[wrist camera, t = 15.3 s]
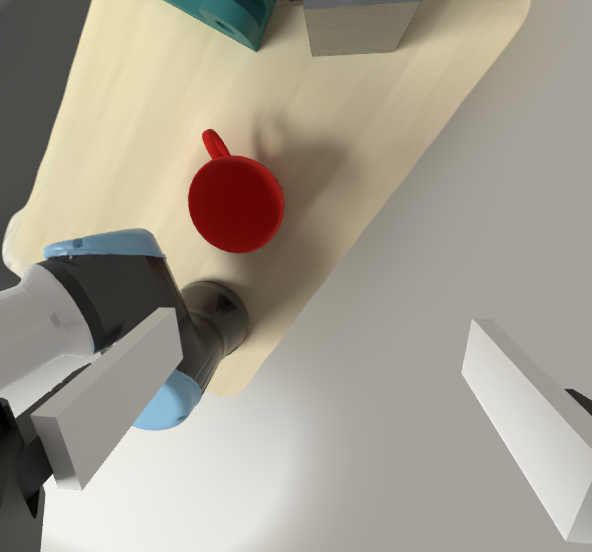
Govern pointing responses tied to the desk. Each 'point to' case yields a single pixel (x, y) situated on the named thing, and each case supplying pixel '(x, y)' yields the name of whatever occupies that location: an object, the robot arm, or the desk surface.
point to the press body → (355, 24)
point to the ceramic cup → (234, 200)
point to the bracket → (231, 17)
